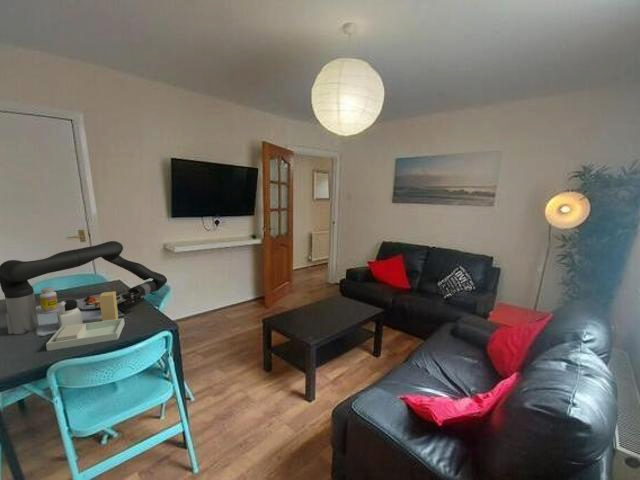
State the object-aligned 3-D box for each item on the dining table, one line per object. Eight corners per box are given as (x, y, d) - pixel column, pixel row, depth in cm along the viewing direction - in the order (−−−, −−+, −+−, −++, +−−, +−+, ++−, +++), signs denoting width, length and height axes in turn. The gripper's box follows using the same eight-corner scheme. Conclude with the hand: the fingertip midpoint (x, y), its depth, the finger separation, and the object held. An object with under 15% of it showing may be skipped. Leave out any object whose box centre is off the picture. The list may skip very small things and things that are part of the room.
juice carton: (102, 325, 142) (99, 296, 139) (105, 320, 146) (102, 292, 144) (116, 323, 144) (113, 294, 141) (118, 319, 149) (115, 291, 146)
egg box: (56, 347, 120) (55, 338, 120) (67, 333, 131) (66, 325, 130) (78, 343, 123) (76, 335, 122) (86, 331, 134) (85, 323, 133)
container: (79, 321, 145) (76, 297, 143) (83, 326, 140) (80, 301, 138) (58, 327, 139) (55, 301, 137) (62, 332, 134) (58, 306, 132)
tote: (47, 353, 118) (46, 343, 117) (62, 334, 132) (61, 326, 131) (118, 341, 128) (117, 333, 127) (124, 325, 142) (123, 318, 141)
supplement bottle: (48, 314, 152) (44, 291, 150) (38, 312, 153) (34, 289, 151) (61, 309, 158) (58, 286, 156) (52, 308, 160) (49, 285, 158)
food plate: (77, 300, 171) (76, 294, 170) (124, 292, 186) (123, 287, 185) (78, 315, 152) (77, 309, 152) (130, 305, 167) (129, 300, 167)
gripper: (127, 284, 165) (104, 294, 149) (151, 285, 164) (129, 296, 148) (128, 296, 166) (105, 308, 150) (151, 298, 165) (131, 309, 149)
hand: (117, 302), depth 149 cm, fingers open, 8 cm apart
